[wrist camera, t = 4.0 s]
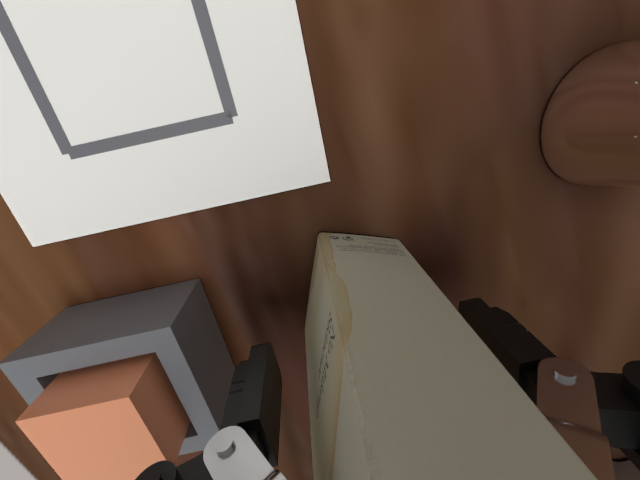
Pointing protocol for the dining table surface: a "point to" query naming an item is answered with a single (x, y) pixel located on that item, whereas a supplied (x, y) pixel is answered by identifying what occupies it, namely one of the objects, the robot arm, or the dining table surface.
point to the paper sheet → (150, 110)
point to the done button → (107, 420)
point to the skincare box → (412, 379)
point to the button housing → (137, 349)
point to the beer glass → (597, 120)
